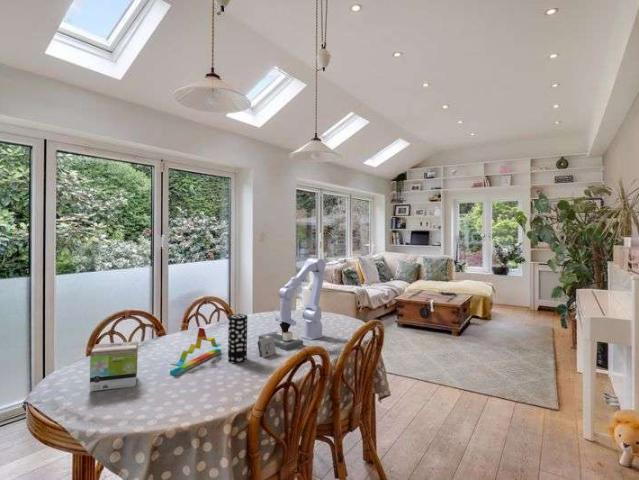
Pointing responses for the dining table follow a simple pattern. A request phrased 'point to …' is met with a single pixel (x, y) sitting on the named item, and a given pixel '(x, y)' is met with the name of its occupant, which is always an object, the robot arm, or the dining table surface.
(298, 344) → the panel
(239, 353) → the white-spotted black cylinder
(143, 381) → the dining table surface
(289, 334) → the block
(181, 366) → the chart
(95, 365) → the tea box
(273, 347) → the electrical switch
